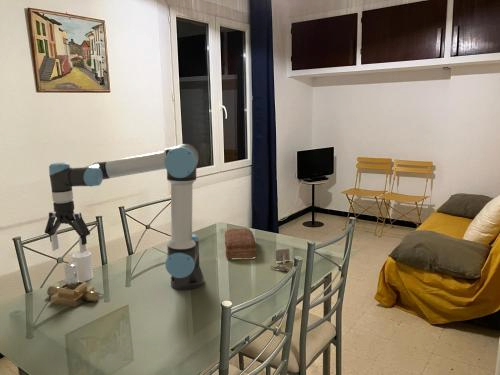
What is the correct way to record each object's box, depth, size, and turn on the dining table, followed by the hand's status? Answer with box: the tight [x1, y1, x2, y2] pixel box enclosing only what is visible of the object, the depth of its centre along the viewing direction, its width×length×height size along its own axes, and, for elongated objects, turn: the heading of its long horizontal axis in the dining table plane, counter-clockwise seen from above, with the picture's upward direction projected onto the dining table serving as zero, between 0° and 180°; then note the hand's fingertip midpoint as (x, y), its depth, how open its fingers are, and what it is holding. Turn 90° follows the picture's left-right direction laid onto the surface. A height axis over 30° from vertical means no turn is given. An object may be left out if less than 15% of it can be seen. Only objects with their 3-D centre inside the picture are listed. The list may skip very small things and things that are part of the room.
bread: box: [224, 228, 257, 260], centre depth 217 cm, size 17×29×11 cm, turn 5°
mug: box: [68, 250, 94, 282], centre depth 181 cm, size 12×8×12 cm
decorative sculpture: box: [270, 247, 291, 272], centre depth 195 cm, size 16×10×7 cm, turn 174°
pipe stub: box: [63, 262, 79, 289], centre depth 162 cm, size 5×5×12 cm
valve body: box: [46, 281, 101, 308], centre depth 163 cm, size 23×12×6 cm, turn 75°
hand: (69, 250), depth 159 cm, fingers open, 13 cm apart
